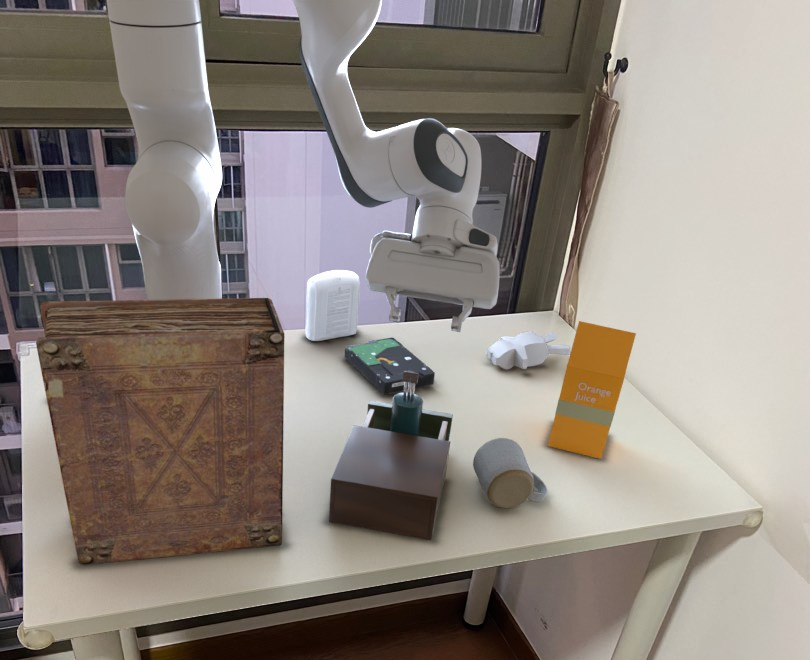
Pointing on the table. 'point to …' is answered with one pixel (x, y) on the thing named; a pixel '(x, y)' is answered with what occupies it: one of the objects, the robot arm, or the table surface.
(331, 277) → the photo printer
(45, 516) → the table surface
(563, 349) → the bunny figurine
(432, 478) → the cabinet
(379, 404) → the drawer
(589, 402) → the orange juice
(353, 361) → the disk drive
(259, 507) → the book
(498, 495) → the ceramic mug
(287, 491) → the table surface
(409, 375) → the cutlery cup
